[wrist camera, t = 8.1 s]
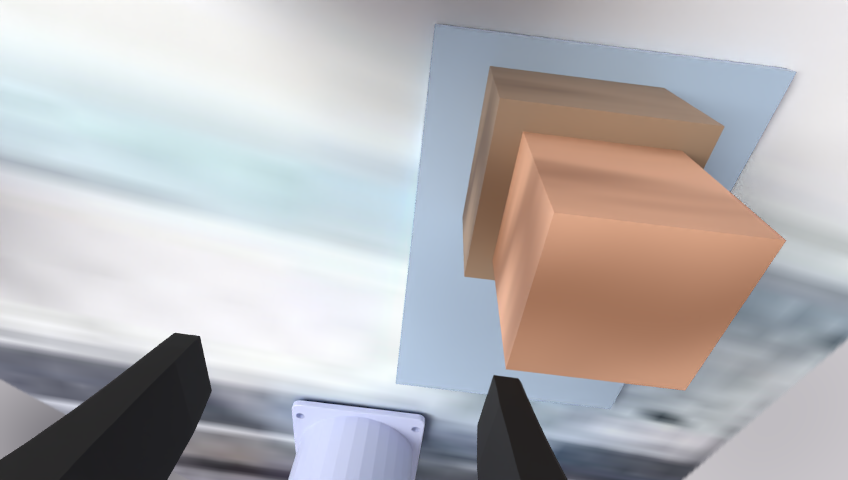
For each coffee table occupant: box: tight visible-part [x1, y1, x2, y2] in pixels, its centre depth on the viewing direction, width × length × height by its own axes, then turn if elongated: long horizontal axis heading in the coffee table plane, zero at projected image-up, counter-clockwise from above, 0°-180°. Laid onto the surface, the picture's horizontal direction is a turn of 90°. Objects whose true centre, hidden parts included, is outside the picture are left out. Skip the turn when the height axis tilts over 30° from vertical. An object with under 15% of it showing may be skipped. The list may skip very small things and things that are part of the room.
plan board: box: [396, 24, 796, 409], centre depth 20 cm, size 18×12×1 cm, turn 174°
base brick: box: [462, 66, 725, 280], centre depth 15 cm, size 6×6×4 cm
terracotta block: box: [493, 131, 786, 390], centre depth 11 cm, size 4×4×4 cm
